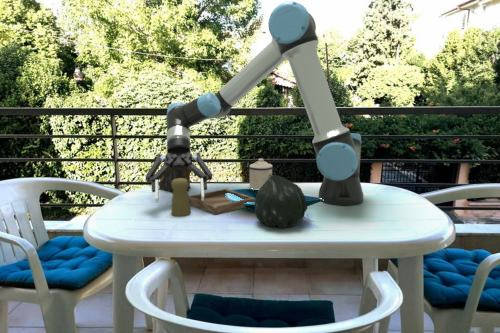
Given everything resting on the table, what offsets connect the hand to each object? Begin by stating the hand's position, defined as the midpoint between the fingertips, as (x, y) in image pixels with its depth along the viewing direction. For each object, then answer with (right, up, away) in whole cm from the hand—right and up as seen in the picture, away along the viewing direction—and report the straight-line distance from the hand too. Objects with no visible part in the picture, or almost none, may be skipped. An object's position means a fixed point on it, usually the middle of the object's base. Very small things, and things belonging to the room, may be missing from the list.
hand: (180, 199), depth 115 cm
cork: (0, -5, +3) cm, 5 cm away
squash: (+30, -6, -6) cm, 31 cm away
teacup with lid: (+25, +2, +34) cm, 42 cm away
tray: (+11, -3, +12) cm, 17 cm away
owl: (-7, +1, +33) cm, 34 cm away
